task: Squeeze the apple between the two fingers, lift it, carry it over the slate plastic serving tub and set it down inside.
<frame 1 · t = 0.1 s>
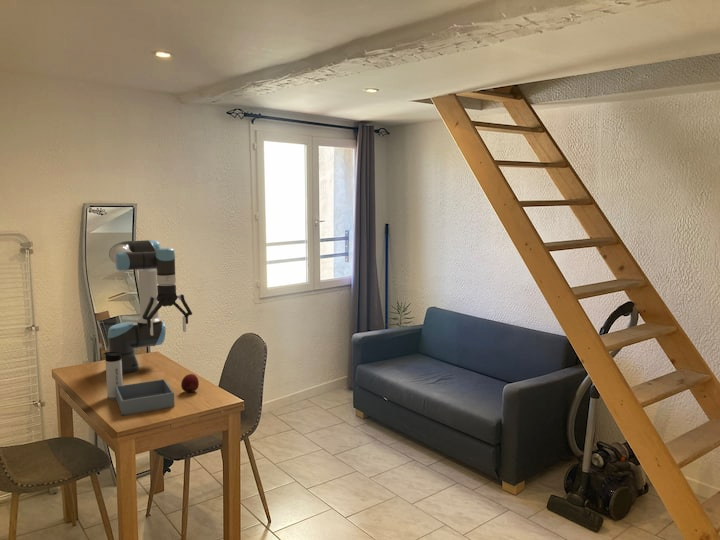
hand: (168, 333, 238), 28 cm above the table, fingers open, 13 cm apart
travel mug: (115, 397, 239), on the table
tub: (144, 403, 232), on the table
apple: (190, 392, 246), on the table
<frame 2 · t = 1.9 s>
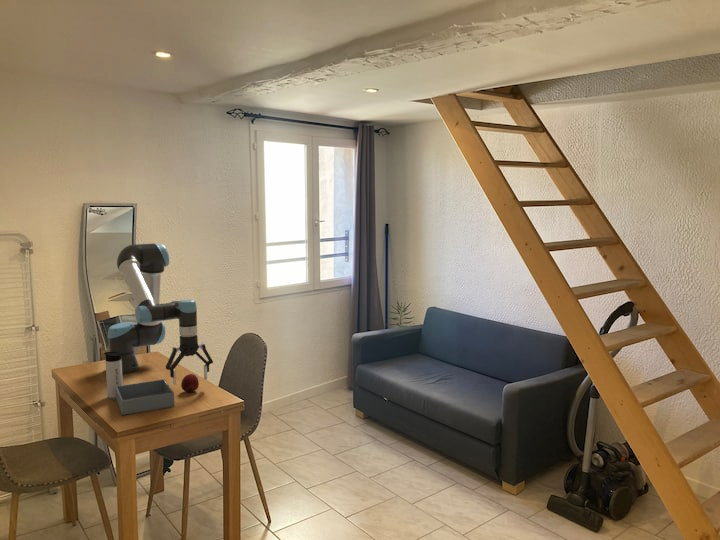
hand: (190, 381, 245), 5 cm above the table, fingers open, 13 cm apart
nothing on the table moved.
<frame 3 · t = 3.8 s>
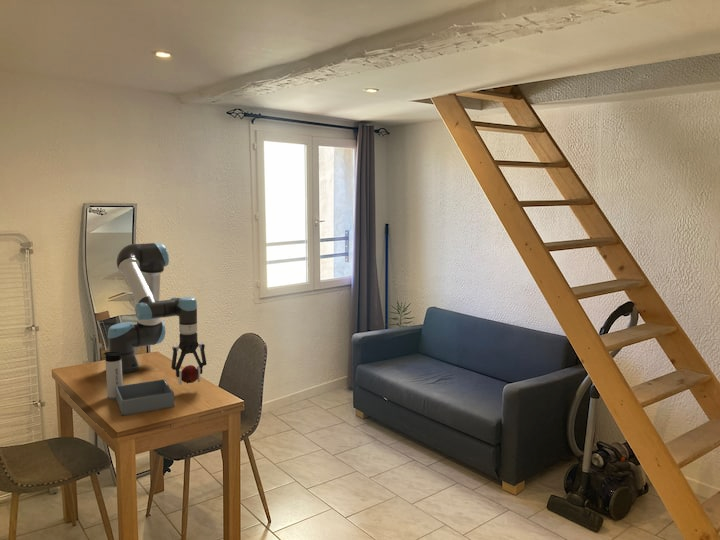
hand: (189, 382, 246), 4 cm above the table, fingers closed on apple, 7 cm apart
apple: (189, 383, 246), point 4 cm above the table, touching gripper
everything else where it was.
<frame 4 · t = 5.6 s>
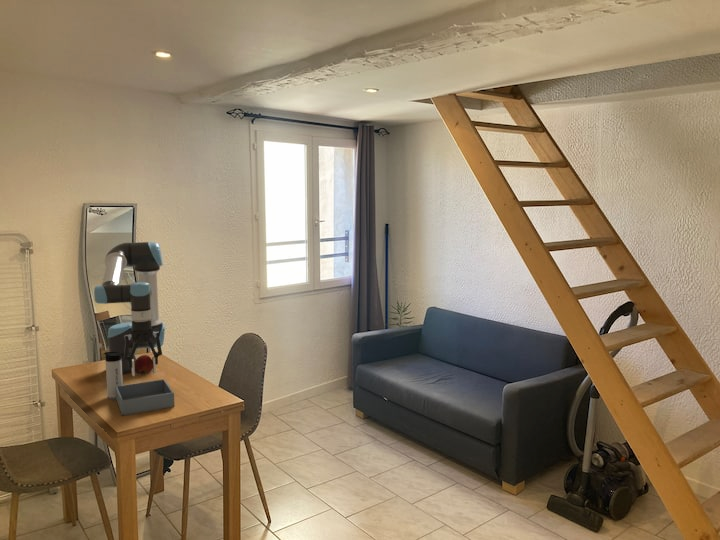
hand: (143, 373, 230), 13 cm above the table, fingers closed on apple, 7 cm apart
apple: (144, 374, 231), point 12 cm above the table, touching gripper
everything else where it was.
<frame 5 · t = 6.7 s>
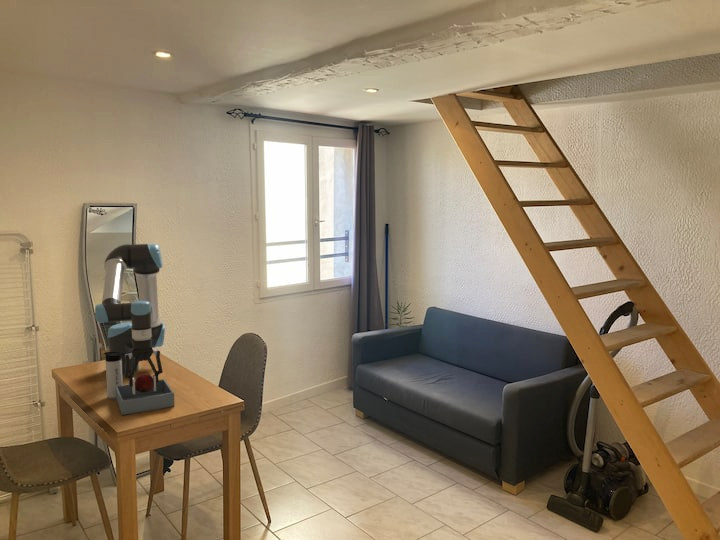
hand: (144, 391, 231), 5 cm above the table, fingers closed on apple, 7 cm apart
apple: (144, 392, 231), point 5 cm above the table, touching gripper
everything else where it was.
when the fingers open (3 cm above the table, at t = 7.5 s): apple drops 2 cm, resting on tub.
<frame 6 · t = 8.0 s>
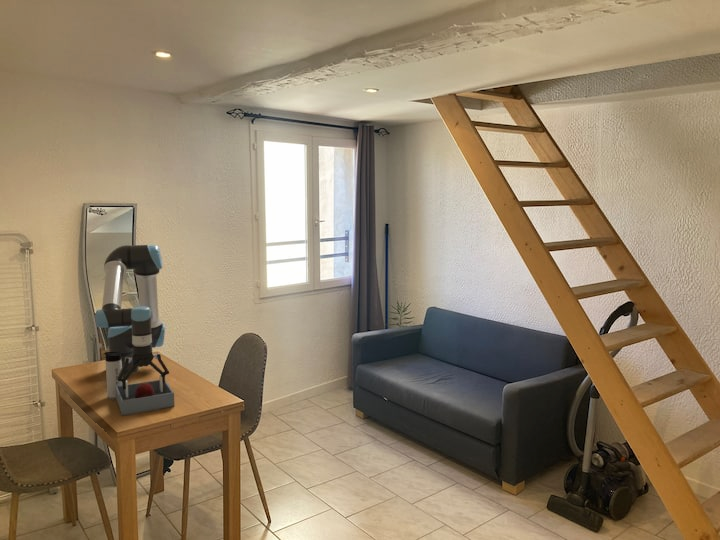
hand: (144, 393, 231), 4 cm above the table, fingers open, 13 cm apart
apple: (144, 402, 232), resting on tub
everything else where it was.
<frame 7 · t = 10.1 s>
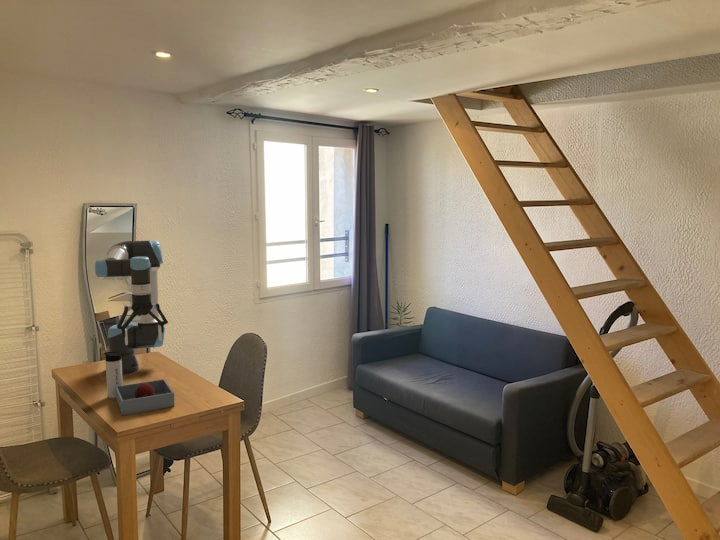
hand: (143, 342, 236), 24 cm above the table, fingers open, 13 cm apart
nothing on the table moved.
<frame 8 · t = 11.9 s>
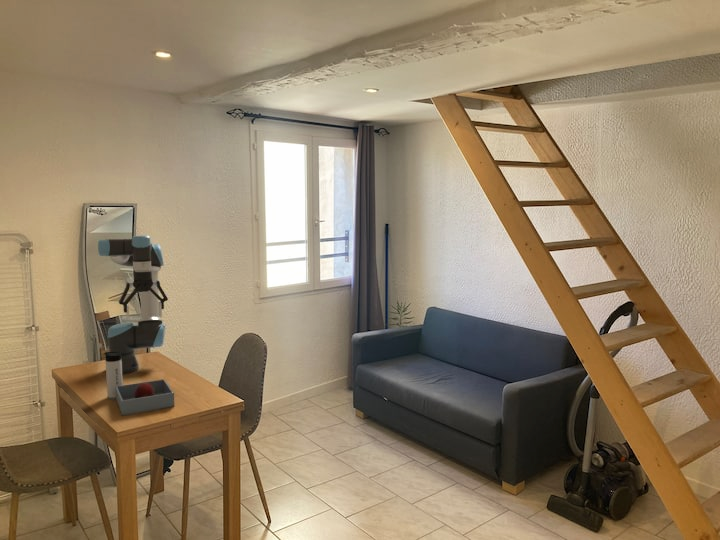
hand: (144, 318, 245), 33 cm above the table, fingers open, 13 cm apart
nothing on the table moved.
at the end: apple inside the target area on the tub (0.1 cm from its centre), point 0.3 cm above the tub's base; the gripper is holding nothing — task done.
